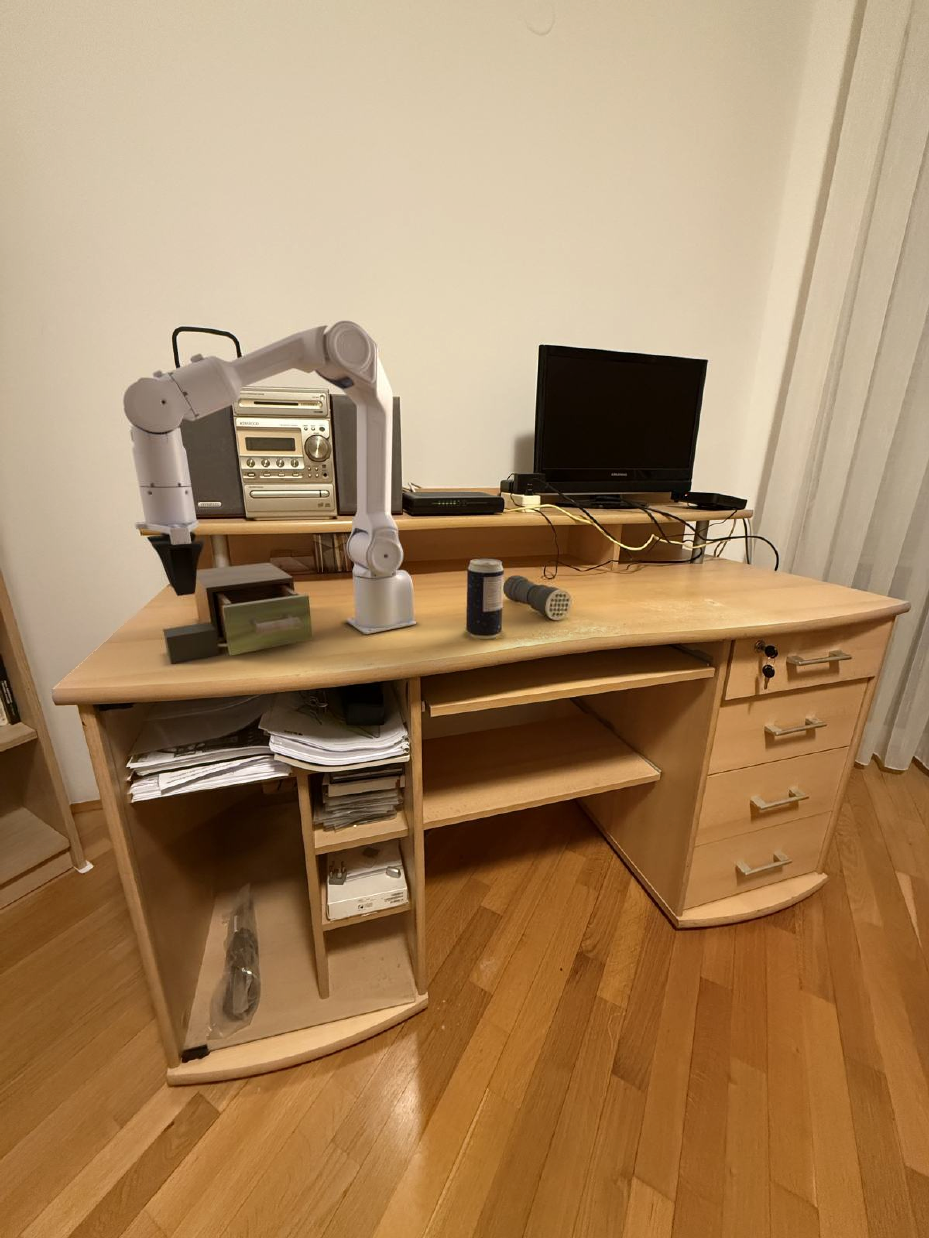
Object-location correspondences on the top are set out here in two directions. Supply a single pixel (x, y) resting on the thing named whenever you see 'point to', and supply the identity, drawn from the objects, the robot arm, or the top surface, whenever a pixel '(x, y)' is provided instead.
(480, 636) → the beverage can
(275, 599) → the drawer
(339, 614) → the top surface
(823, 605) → the top surface
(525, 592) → the flashlight
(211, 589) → the cabinet
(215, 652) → the charcoal rectangular block
